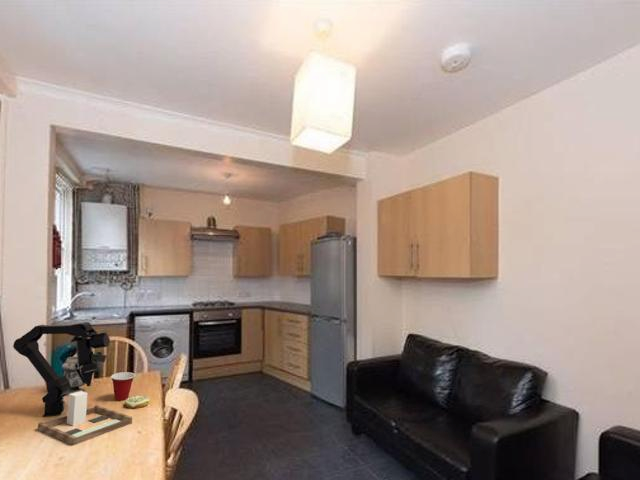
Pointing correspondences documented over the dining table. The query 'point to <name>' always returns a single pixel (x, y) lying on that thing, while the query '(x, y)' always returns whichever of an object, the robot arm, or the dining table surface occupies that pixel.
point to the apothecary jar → (72, 375)
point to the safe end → (96, 428)
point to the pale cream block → (77, 408)
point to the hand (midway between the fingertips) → (86, 384)
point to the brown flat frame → (74, 440)
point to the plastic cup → (122, 385)
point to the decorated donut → (137, 401)
